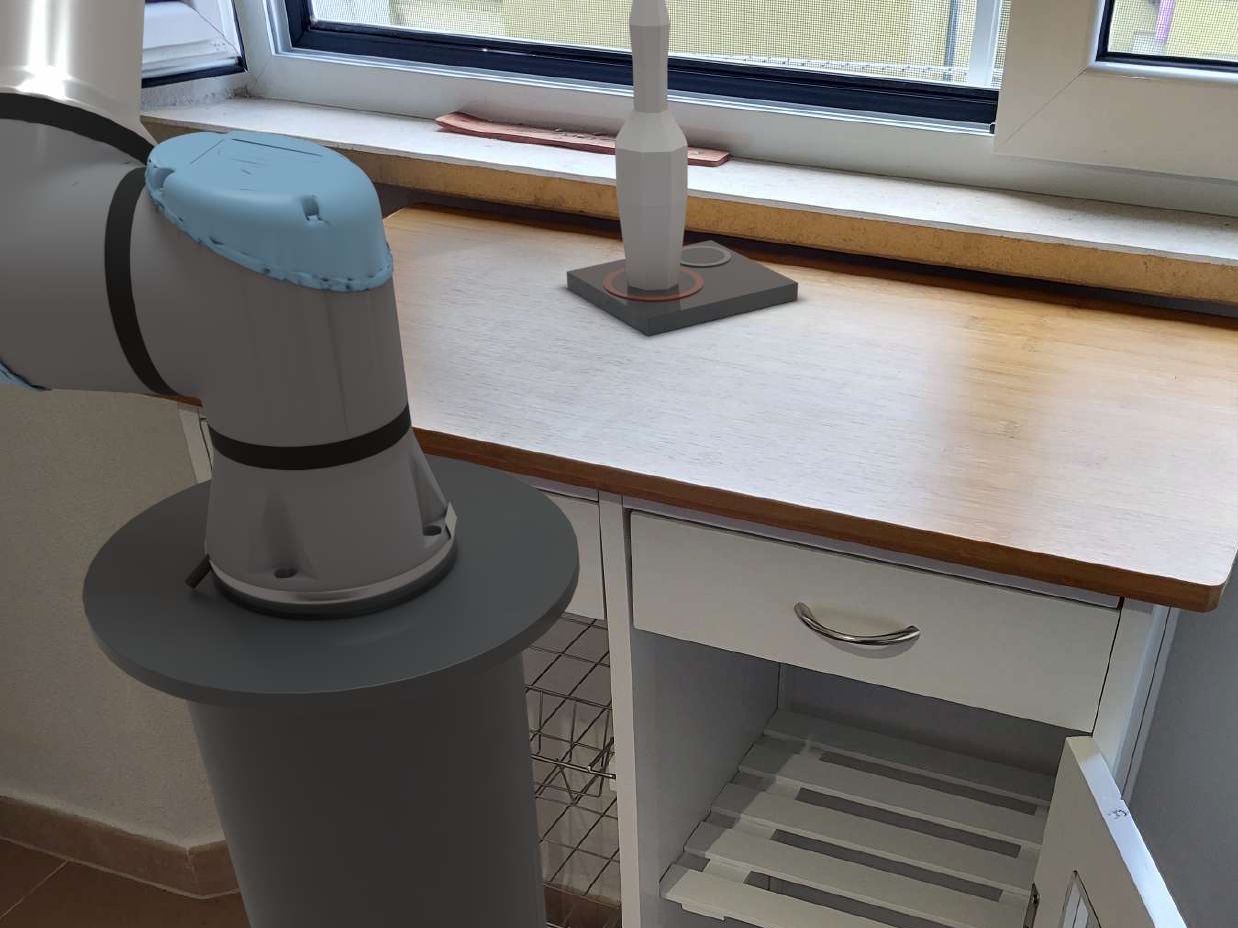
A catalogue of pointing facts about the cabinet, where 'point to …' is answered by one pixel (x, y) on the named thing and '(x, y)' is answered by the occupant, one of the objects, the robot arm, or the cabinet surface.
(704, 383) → the cabinet surface
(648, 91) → the low poly bottle
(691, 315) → the hob
